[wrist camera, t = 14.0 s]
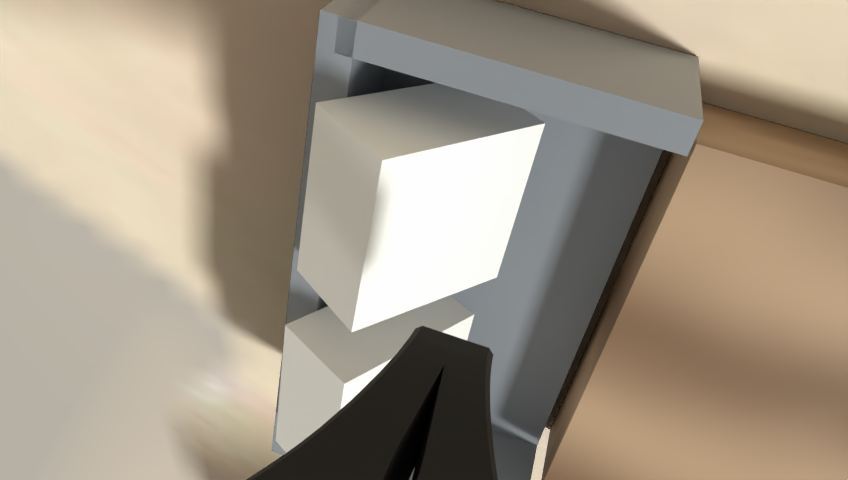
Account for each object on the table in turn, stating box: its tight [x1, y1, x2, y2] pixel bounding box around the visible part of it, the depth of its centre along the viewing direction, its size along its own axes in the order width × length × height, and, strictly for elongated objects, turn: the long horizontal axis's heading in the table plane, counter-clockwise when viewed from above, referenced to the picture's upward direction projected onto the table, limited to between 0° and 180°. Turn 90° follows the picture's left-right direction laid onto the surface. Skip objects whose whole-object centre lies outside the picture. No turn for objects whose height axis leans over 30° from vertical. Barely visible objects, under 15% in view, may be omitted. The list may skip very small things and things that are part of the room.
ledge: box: [542, 102, 848, 480], centre depth 20 cm, size 12×7×2 cm, turn 169°
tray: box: [272, 0, 704, 480], centre depth 20 cm, size 14×8×4 cm, turn 169°
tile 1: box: [297, 83, 545, 332], centre depth 18 cm, size 4×4×2 cm
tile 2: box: [276, 295, 474, 453], centre depth 21 cm, size 4×4×2 cm
